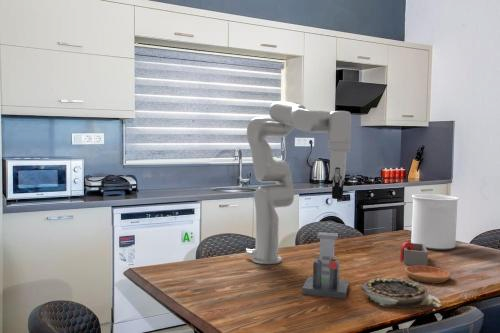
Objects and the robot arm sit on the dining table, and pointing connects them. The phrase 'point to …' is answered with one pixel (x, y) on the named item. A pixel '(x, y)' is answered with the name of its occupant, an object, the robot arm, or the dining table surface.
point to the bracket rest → (416, 255)
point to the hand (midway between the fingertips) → (337, 197)
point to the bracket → (405, 245)
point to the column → (326, 255)
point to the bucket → (434, 221)
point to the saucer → (427, 274)
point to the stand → (335, 287)
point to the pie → (398, 293)
